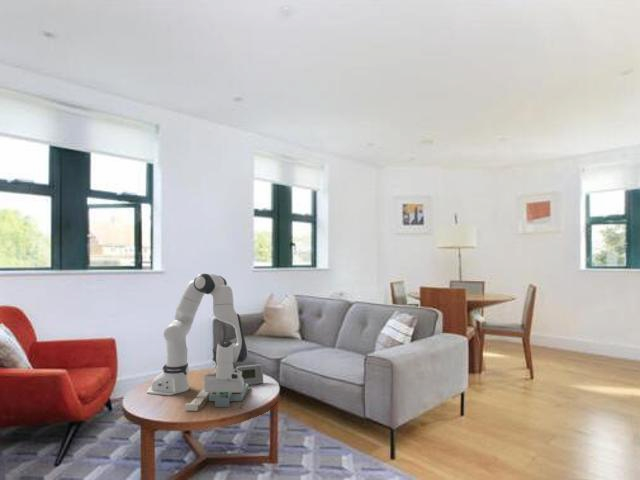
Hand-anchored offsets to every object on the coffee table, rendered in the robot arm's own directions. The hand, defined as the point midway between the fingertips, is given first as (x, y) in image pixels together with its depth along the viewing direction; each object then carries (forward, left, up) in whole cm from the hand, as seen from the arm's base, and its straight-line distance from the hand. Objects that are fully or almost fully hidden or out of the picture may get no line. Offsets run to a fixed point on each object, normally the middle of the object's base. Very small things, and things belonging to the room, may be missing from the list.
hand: (224, 400), depth 194 cm
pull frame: (0, +8, -1) cm, 8 cm away
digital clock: (+8, +30, -2) cm, 31 cm away
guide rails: (0, +7, -2) cm, 7 cm away
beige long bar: (-14, +4, -2) cm, 15 cm away
